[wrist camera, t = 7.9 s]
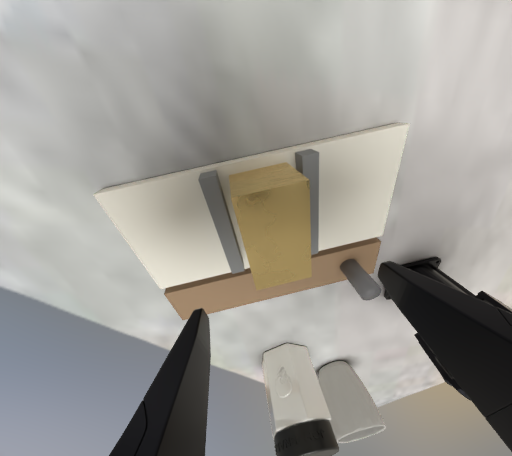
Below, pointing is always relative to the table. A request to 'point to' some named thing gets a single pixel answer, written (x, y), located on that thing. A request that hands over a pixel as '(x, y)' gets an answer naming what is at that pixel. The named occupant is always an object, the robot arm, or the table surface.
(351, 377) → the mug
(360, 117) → the table surface
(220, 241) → the door board
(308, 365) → the jar
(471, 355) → the robot arm
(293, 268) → the bar
